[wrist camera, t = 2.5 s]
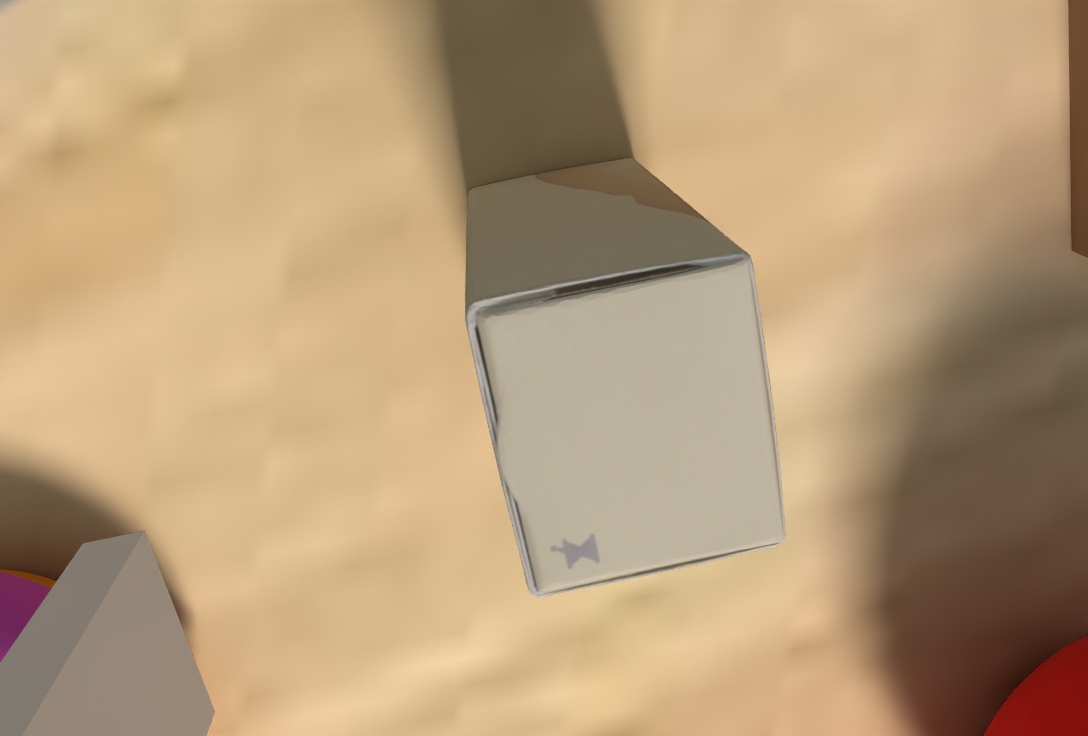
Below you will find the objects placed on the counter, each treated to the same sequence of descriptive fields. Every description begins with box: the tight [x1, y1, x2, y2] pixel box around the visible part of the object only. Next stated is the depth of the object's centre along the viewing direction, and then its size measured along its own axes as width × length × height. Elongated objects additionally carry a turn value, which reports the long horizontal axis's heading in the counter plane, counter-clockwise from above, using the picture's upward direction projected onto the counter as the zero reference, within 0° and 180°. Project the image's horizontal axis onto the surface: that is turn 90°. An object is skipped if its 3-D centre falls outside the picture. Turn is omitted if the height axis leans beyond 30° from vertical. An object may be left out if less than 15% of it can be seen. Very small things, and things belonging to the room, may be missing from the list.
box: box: [465, 158, 786, 598], centre depth 20 cm, size 5×4×11 cm
